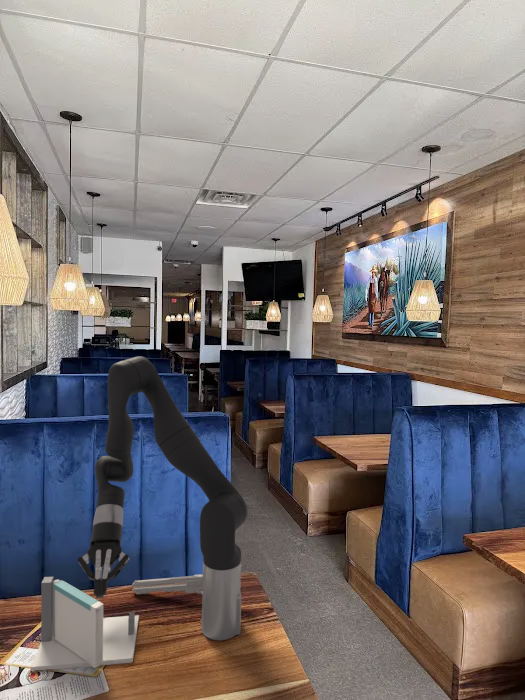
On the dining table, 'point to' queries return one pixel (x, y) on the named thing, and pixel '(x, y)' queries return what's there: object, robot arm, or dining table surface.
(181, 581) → the grey flat strip
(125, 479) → the robot arm
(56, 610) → the gate panel
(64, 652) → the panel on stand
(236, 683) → the dining table surface
